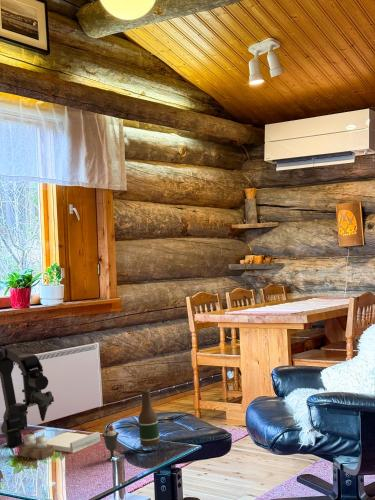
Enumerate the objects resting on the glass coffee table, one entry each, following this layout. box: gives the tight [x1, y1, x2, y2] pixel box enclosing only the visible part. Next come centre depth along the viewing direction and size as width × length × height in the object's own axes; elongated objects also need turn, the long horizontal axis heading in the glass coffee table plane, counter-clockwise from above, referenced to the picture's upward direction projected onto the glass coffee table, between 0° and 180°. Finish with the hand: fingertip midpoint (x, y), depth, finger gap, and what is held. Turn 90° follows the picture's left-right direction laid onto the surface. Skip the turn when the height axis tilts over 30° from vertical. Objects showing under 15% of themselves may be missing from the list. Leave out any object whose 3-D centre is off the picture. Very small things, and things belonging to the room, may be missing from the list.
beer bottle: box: [138, 388, 161, 446], centre depth 286 cm, size 8×8×24 cm
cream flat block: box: [46, 431, 101, 454], centre depth 303 cm, size 20×16×4 cm
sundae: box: [101, 422, 120, 463], centre depth 277 cm, size 7×7×15 cm
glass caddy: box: [18, 433, 55, 460], centre depth 292 cm, size 14×6×8 cm, turn 54°
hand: (34, 424), depth 292 cm, fingers open, 9 cm apart
